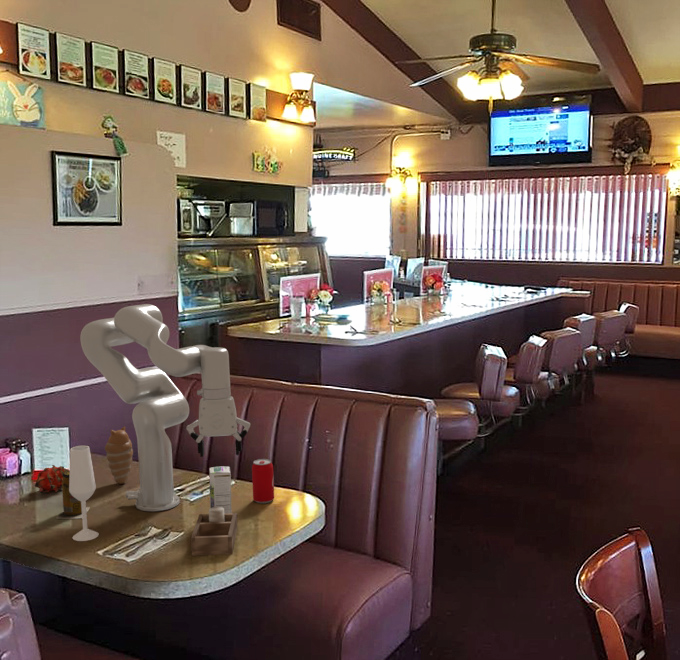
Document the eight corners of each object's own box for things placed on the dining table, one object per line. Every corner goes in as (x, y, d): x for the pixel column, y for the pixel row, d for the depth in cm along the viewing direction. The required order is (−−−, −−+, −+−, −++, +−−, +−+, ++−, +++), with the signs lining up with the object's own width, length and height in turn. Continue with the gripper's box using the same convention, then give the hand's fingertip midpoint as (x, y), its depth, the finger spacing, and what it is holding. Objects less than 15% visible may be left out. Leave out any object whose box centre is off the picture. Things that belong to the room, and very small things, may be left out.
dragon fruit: (73, 490, 250) (40, 506, 241) (57, 471, 253) (24, 487, 244) (79, 472, 245) (45, 489, 236) (62, 454, 248) (28, 469, 239)
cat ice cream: (125, 477, 257) (122, 423, 254) (140, 482, 252) (137, 427, 249) (102, 484, 250) (98, 429, 247) (117, 489, 245) (113, 433, 242)
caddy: (191, 555, 196) (190, 528, 195) (200, 530, 212) (198, 505, 211) (232, 553, 196) (231, 527, 195) (237, 529, 212) (236, 504, 211)
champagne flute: (66, 539, 207) (60, 450, 204) (83, 529, 213) (77, 443, 210) (87, 542, 205) (81, 452, 202) (104, 532, 211) (98, 445, 208)
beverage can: (276, 497, 236) (274, 458, 234) (272, 504, 230) (270, 464, 228) (255, 496, 236) (254, 458, 235) (251, 504, 230) (249, 464, 229)
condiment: (90, 507, 230) (87, 468, 228) (82, 518, 222) (79, 477, 220) (65, 508, 230) (62, 468, 228) (55, 519, 221) (52, 478, 220)
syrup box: (210, 517, 221) (208, 467, 219) (231, 515, 222) (229, 465, 220) (211, 524, 215) (209, 473, 213) (232, 522, 216) (231, 471, 214)
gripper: (182, 397, 209) (186, 460, 212) (247, 394, 210) (251, 457, 212) (186, 392, 217) (190, 452, 219) (249, 389, 218) (252, 449, 220)
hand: (220, 454), depth 216 cm, fingers open, 9 cm apart
